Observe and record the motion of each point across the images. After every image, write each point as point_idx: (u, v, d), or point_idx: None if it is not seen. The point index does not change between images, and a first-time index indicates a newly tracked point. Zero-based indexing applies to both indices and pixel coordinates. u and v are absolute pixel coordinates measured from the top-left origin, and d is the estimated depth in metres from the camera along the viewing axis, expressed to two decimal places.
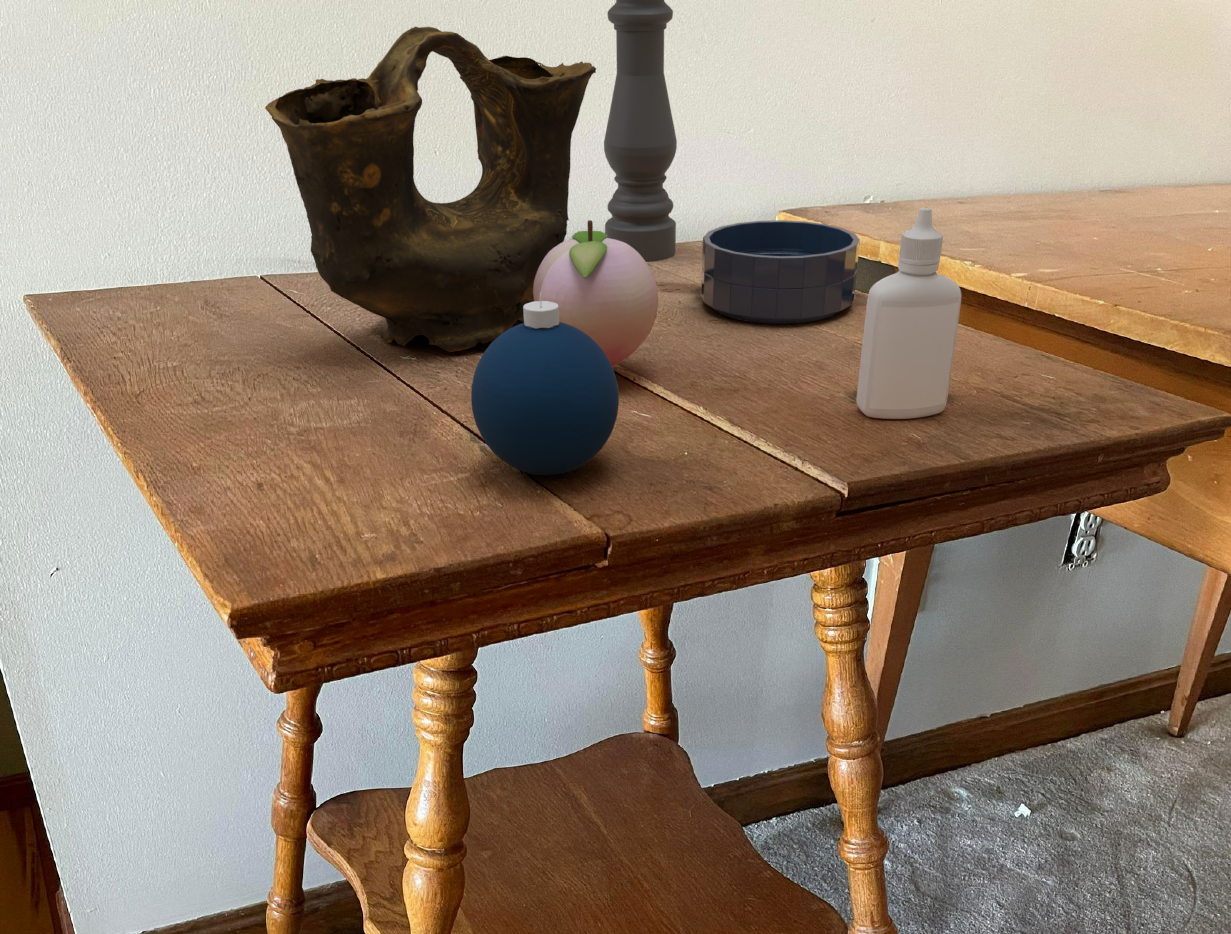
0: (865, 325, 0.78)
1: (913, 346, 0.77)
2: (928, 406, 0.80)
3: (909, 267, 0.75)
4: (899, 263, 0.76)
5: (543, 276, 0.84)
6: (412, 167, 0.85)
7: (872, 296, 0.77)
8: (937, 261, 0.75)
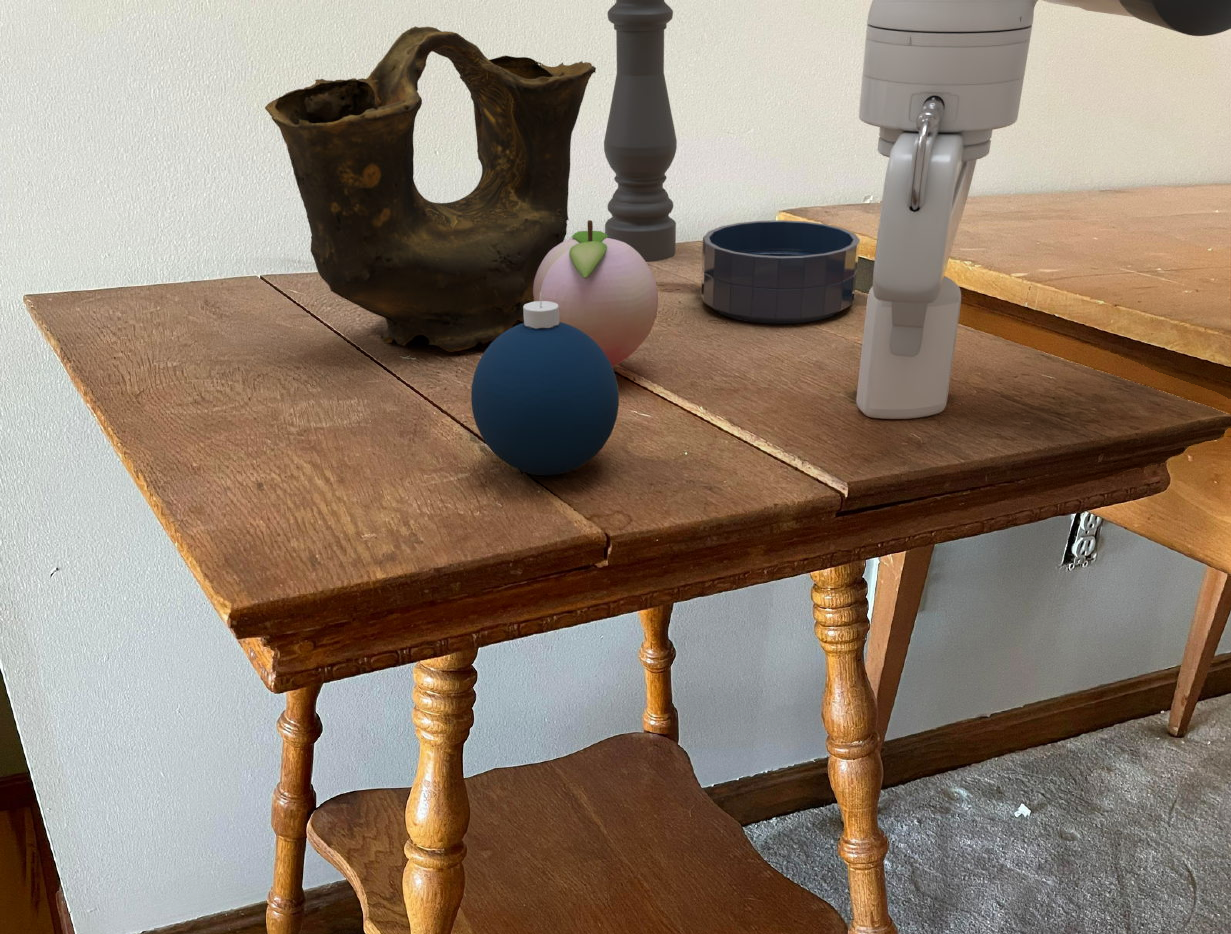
0: (865, 325, 0.78)
1: None
2: (928, 407, 0.80)
3: None
4: None
5: (543, 276, 0.84)
6: (412, 167, 0.85)
7: (872, 297, 0.77)
8: None
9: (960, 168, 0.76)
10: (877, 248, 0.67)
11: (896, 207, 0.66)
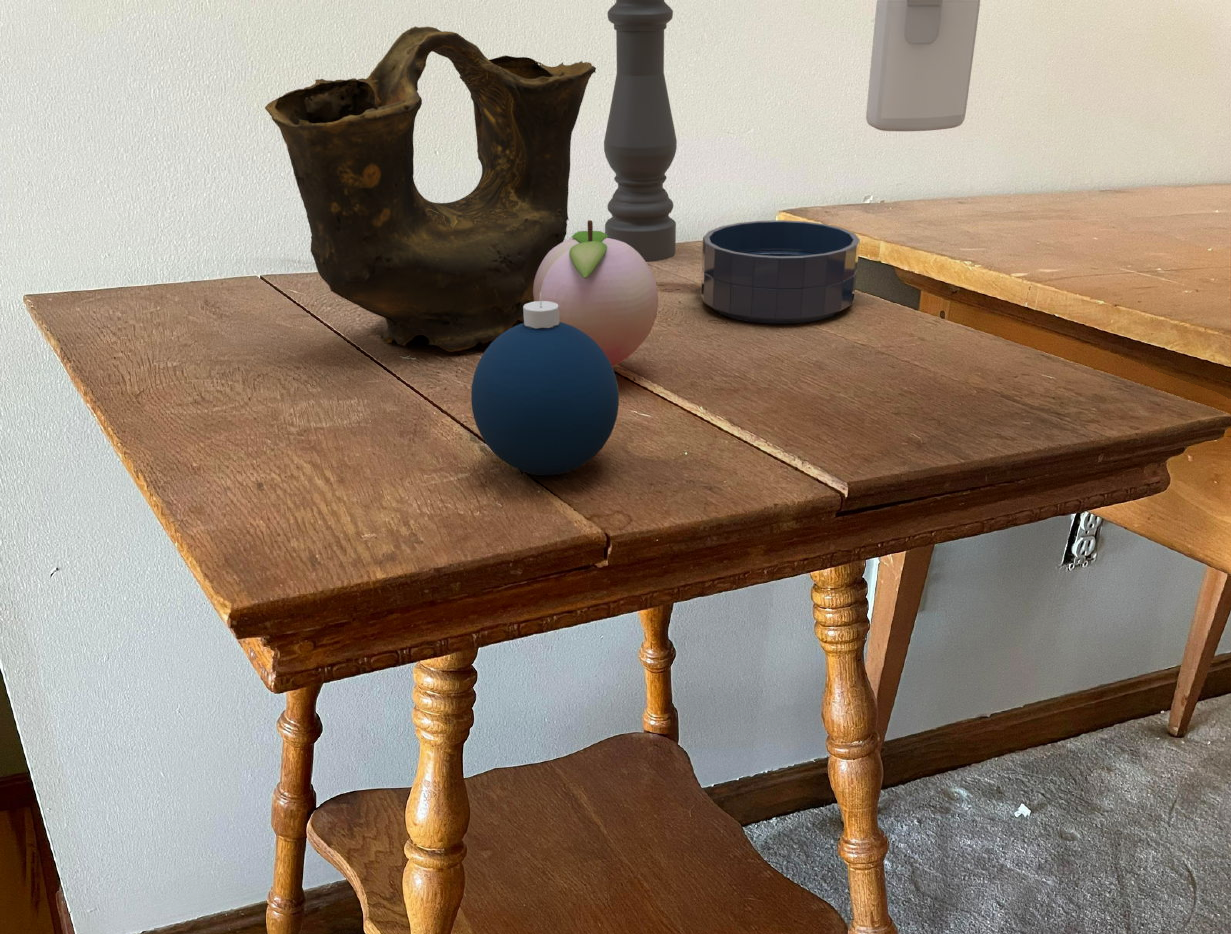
0: (876, 20, 0.71)
1: None
2: (945, 116, 0.73)
3: None
4: None
5: (543, 276, 0.84)
6: (412, 167, 0.85)
7: None
8: None
9: None
10: None
11: None
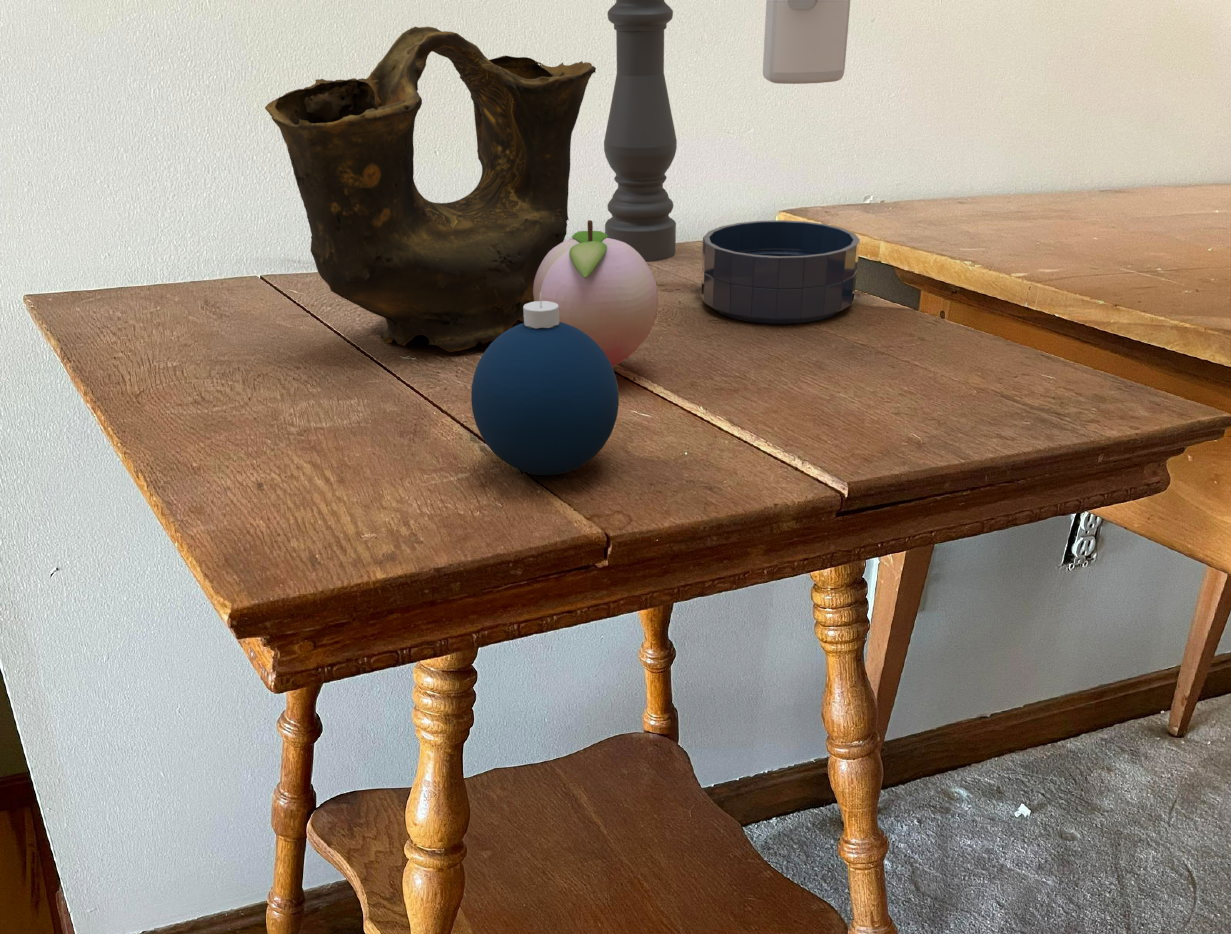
0: None
1: None
2: (826, 71, 0.88)
3: None
4: None
5: (543, 276, 0.84)
6: (412, 167, 0.85)
7: None
8: None
9: None
10: None
11: None
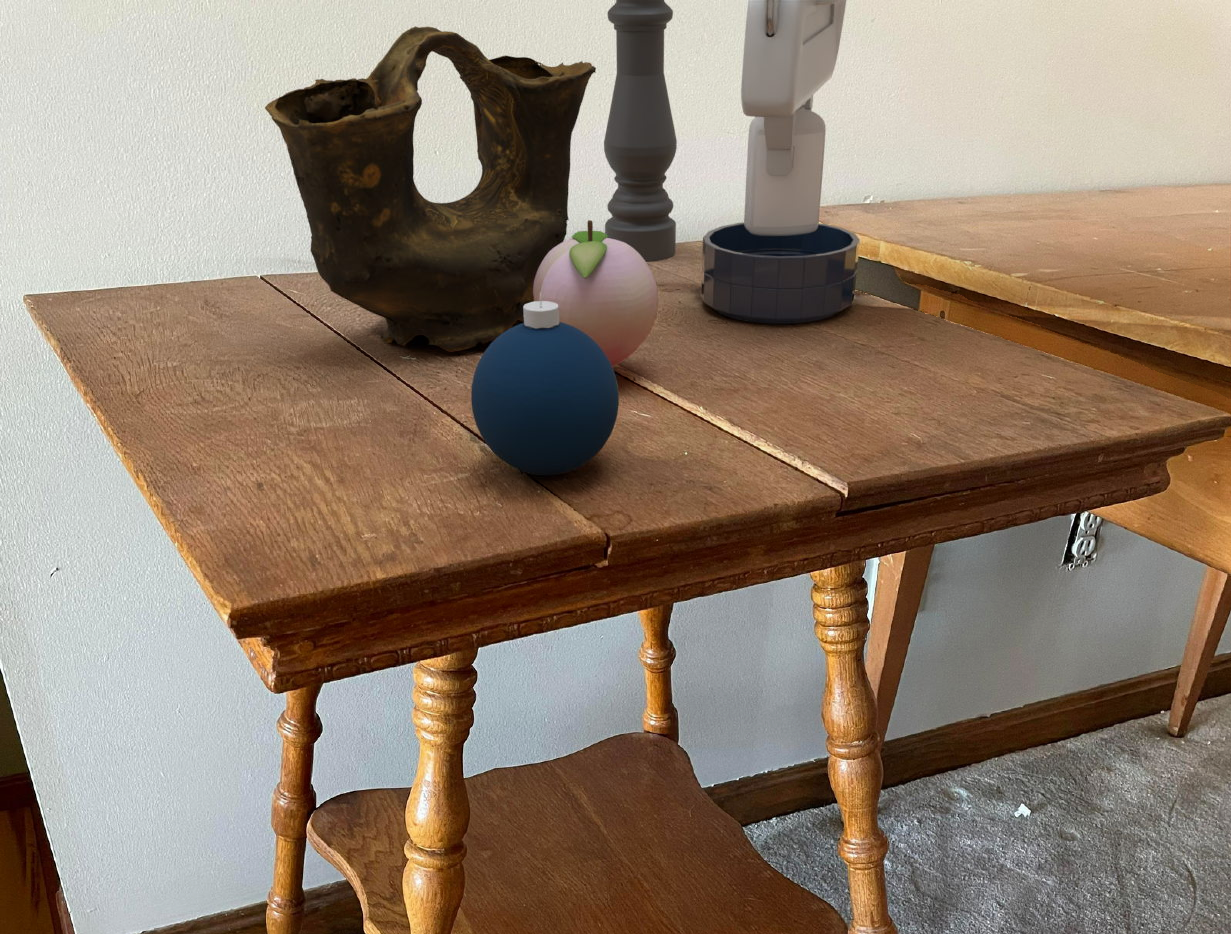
0: (747, 154, 0.94)
1: None
2: (802, 225, 0.96)
3: None
4: None
5: (543, 276, 0.84)
6: (412, 167, 0.85)
7: (751, 128, 0.93)
8: None
9: (824, 21, 0.92)
10: (742, 69, 0.83)
11: (756, 34, 0.82)
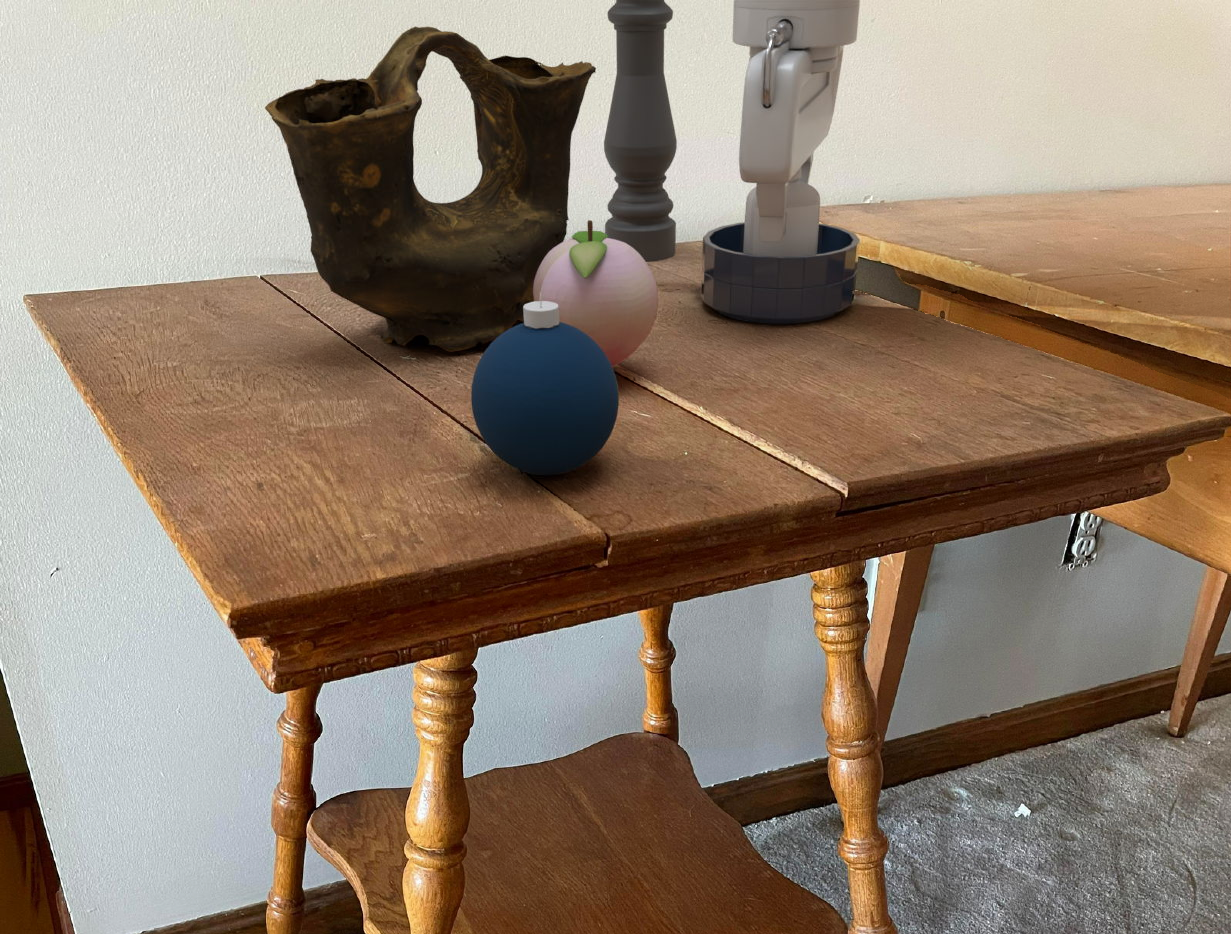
0: (745, 224, 0.97)
1: (782, 240, 0.97)
2: None
3: None
4: None
5: (543, 276, 0.84)
6: (412, 167, 0.85)
7: (748, 200, 0.96)
8: (798, 170, 0.94)
9: (820, 84, 0.95)
10: (740, 139, 0.86)
11: (753, 105, 0.85)
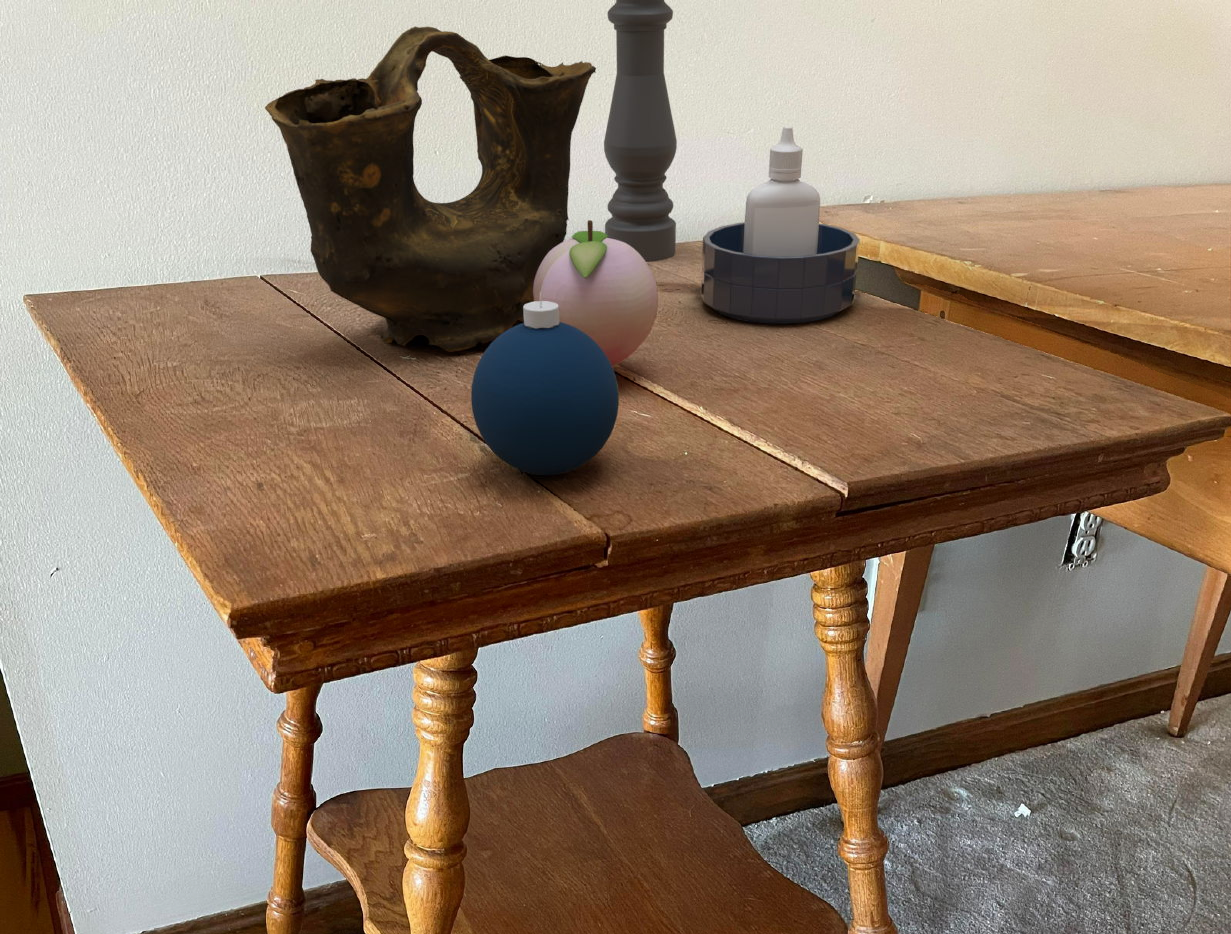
0: (745, 224, 0.97)
1: (782, 240, 0.97)
2: None
3: (776, 175, 0.94)
4: (769, 172, 0.95)
5: (543, 276, 0.84)
6: (412, 167, 0.85)
7: (748, 200, 0.96)
8: (798, 170, 0.94)
9: None
10: None
11: None
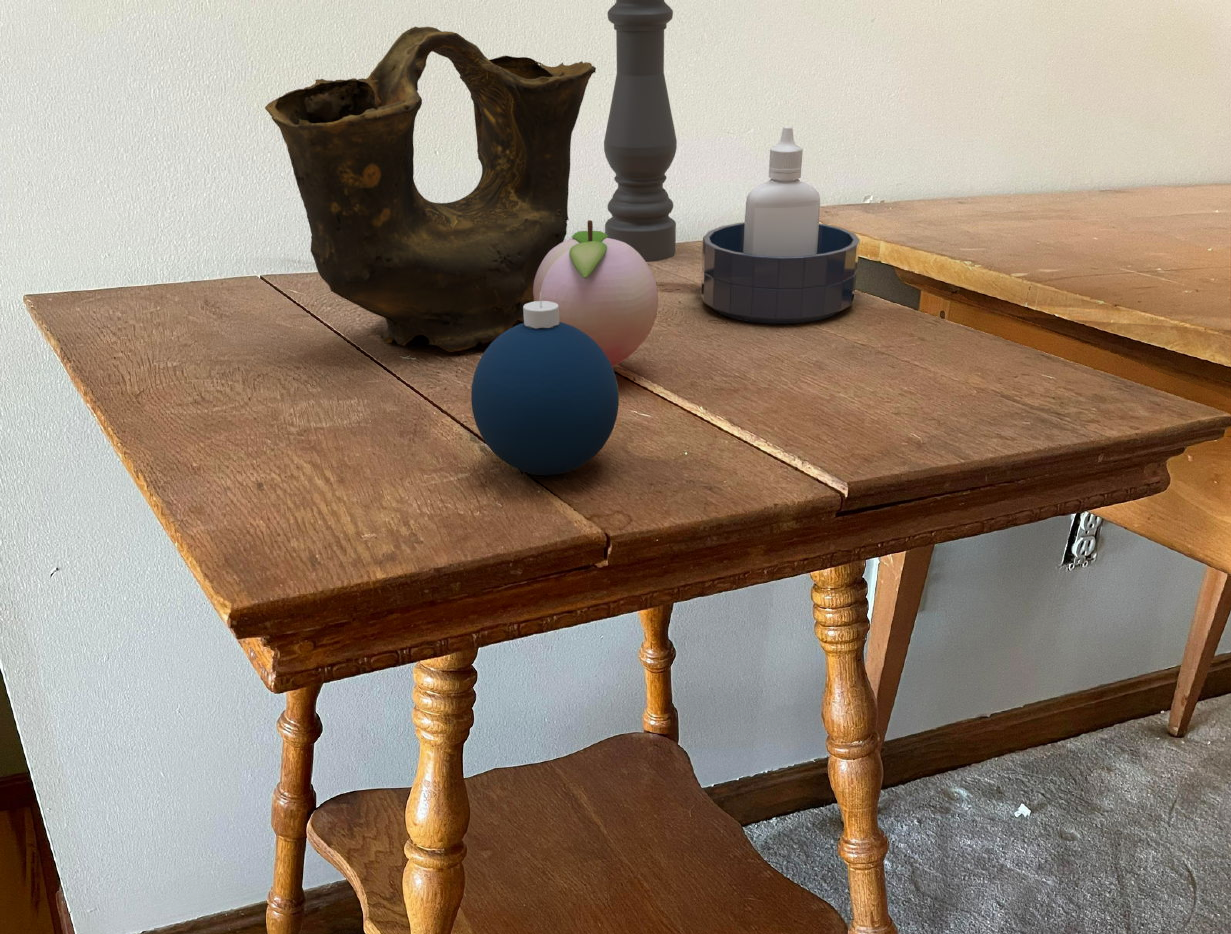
0: (745, 224, 0.97)
1: (782, 240, 0.97)
2: None
3: (776, 175, 0.94)
4: (769, 172, 0.95)
5: (543, 276, 0.84)
6: (412, 167, 0.85)
7: (748, 200, 0.96)
8: (798, 170, 0.94)
9: None
10: None
11: None
